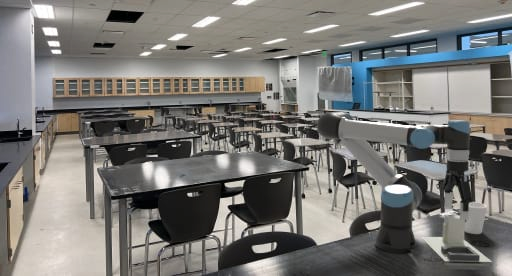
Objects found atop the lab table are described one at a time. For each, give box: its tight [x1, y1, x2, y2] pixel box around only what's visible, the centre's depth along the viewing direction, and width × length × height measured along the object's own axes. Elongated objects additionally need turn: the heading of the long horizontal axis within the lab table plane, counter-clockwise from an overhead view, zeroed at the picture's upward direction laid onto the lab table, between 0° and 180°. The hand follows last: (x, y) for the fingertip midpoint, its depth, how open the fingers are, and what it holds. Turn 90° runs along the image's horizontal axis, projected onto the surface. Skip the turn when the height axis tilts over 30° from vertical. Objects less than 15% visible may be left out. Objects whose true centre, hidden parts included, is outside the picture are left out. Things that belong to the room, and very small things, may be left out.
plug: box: [441, 214, 466, 243], centre depth 149 cm, size 8×4×10 cm, turn 86°
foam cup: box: [464, 201, 488, 235], centre depth 160 cm, size 10×9×13 cm
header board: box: [421, 236, 493, 267], centre depth 143 cm, size 16×23×4 cm
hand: (455, 213), depth 148 cm, fingers open, 13 cm apart
